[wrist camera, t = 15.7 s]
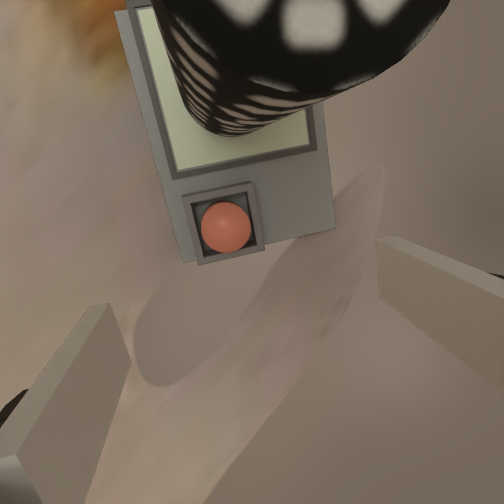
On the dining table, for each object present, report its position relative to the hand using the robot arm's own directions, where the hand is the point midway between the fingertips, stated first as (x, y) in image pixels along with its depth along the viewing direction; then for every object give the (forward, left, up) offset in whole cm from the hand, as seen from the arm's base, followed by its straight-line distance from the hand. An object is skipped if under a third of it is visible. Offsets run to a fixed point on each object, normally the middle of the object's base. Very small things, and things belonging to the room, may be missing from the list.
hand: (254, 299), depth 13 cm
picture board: (-7, +3, -18) cm, 20 cm away
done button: (0, 0, -16) cm, 16 cm away
